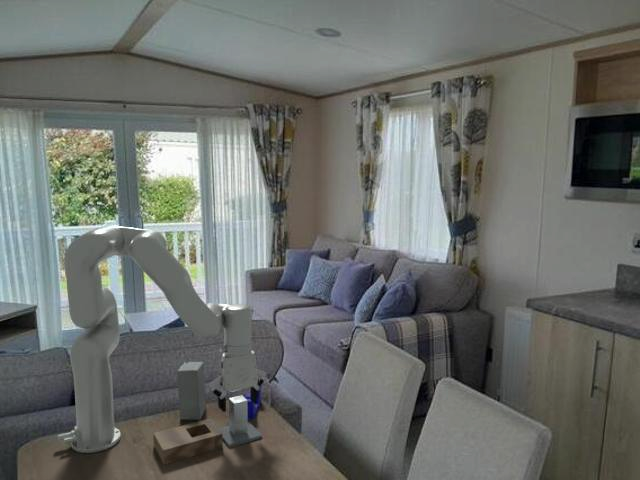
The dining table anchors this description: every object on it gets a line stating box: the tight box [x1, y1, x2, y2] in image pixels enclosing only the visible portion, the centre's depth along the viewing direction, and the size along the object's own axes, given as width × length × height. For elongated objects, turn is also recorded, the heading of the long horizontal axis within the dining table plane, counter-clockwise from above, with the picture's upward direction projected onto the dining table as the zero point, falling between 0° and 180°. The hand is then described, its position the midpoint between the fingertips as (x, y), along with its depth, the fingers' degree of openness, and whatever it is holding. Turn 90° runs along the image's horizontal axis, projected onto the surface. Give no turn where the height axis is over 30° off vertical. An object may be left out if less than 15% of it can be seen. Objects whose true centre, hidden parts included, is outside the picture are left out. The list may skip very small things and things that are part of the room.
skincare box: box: [176, 361, 207, 421], centre depth 155 cm, size 8×7×16 cm
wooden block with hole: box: [153, 418, 223, 465], centre depth 137 cm, size 16×10×4 cm, turn 122°
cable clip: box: [245, 385, 262, 420], centre depth 158 cm, size 12×4×6 cm, turn 176°
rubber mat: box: [217, 420, 263, 448], centre depth 144 cm, size 10×10×1 cm
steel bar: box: [228, 394, 249, 437], centre depth 143 cm, size 4×4×10 cm
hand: (238, 405), depth 142 cm, fingers open, 9 cm apart
